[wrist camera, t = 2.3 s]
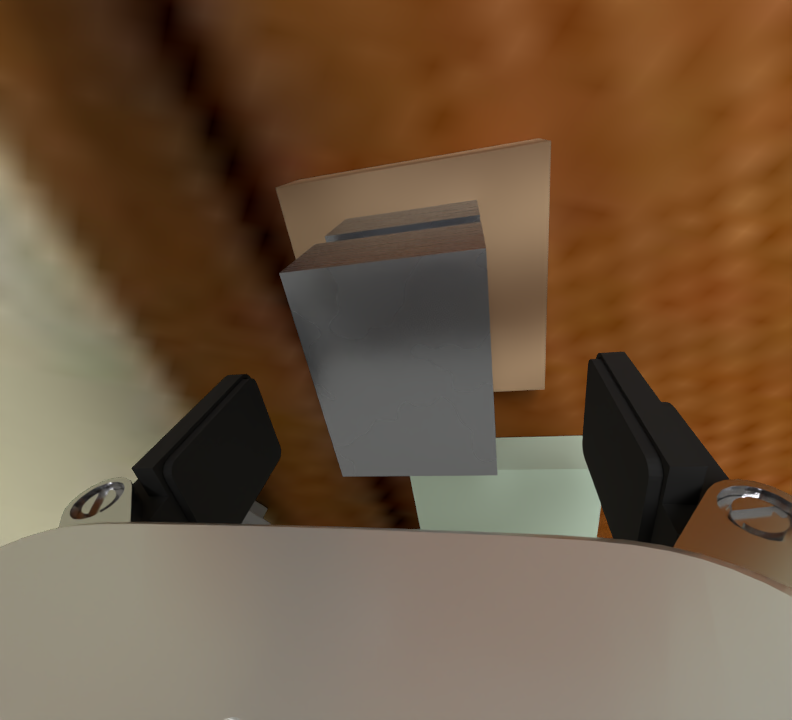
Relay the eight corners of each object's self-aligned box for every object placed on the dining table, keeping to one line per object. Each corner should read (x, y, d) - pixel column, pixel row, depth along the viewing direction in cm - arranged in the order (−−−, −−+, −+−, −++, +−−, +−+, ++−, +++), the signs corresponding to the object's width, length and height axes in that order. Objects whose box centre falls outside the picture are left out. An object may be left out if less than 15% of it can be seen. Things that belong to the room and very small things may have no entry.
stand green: (413, 440, 24) (408, 470, 22) (591, 435, 22) (605, 468, 20) (432, 545, 29) (430, 578, 27) (580, 549, 27) (590, 585, 25)
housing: (345, 218, 15) (279, 273, 10) (477, 199, 14) (486, 248, 9) (378, 371, 19) (342, 476, 13) (486, 364, 18) (497, 475, 12)
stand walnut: (298, 179, 17) (275, 187, 15) (538, 138, 15) (550, 141, 13) (348, 373, 22) (335, 399, 20) (535, 361, 20) (544, 389, 18)
